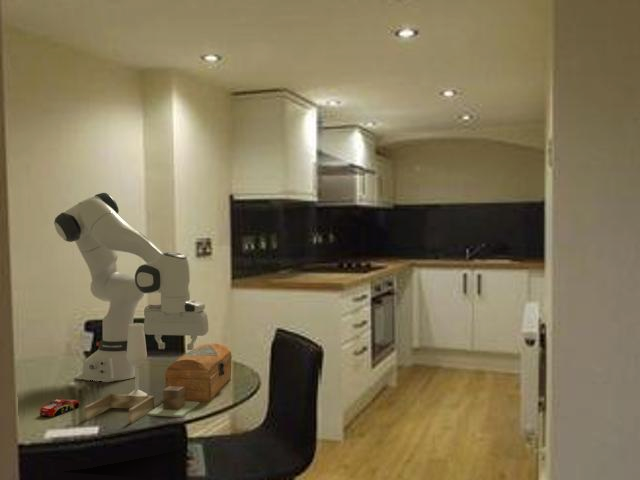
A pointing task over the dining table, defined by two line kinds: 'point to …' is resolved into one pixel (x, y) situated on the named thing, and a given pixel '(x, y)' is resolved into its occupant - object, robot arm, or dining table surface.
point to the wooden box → (201, 372)
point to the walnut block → (173, 398)
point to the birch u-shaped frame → (121, 405)
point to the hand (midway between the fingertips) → (176, 349)
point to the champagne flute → (136, 352)
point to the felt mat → (174, 413)
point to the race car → (58, 407)
